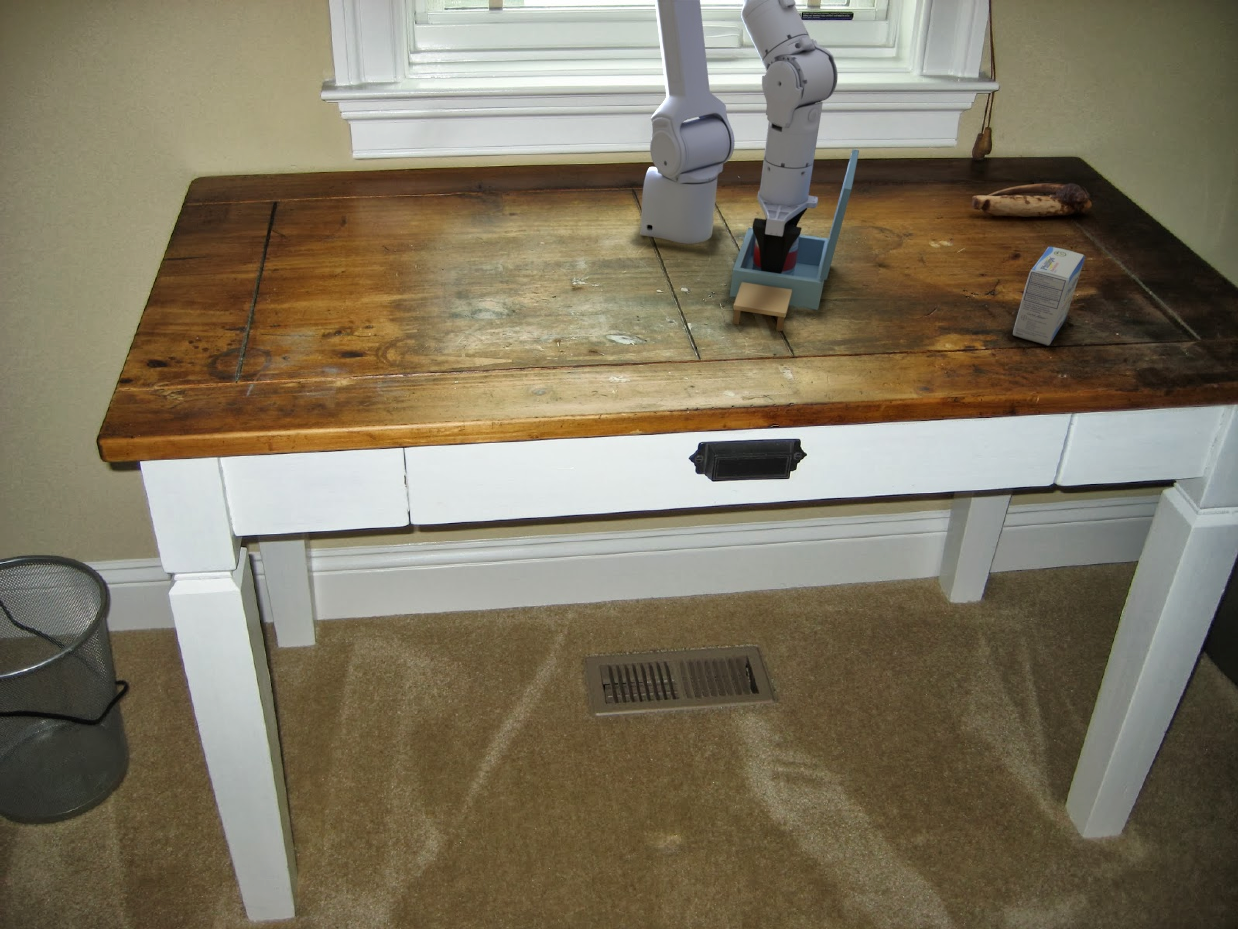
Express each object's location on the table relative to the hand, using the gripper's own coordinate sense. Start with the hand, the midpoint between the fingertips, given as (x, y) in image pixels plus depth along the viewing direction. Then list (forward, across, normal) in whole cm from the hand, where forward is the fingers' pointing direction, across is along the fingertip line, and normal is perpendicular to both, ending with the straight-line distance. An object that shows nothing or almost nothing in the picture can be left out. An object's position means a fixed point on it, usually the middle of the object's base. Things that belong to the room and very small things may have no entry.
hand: (773, 266), depth 132 cm
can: (+2, 0, 0) cm, 2 cm away
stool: (+2, -10, 0) cm, 10 cm away
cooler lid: (-8, 0, -6) cm, 10 cm away
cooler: (+2, 0, -1) cm, 3 cm away
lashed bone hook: (+3, +35, -32) cm, 47 cm away
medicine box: (+3, -1, -32) cm, 32 cm away
